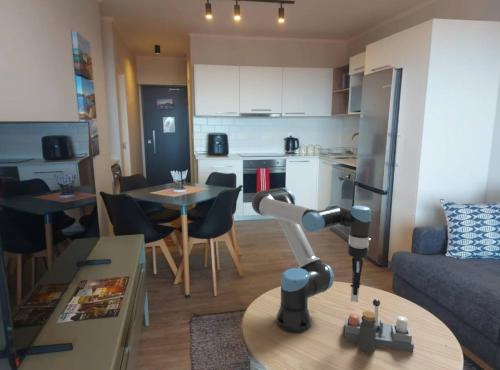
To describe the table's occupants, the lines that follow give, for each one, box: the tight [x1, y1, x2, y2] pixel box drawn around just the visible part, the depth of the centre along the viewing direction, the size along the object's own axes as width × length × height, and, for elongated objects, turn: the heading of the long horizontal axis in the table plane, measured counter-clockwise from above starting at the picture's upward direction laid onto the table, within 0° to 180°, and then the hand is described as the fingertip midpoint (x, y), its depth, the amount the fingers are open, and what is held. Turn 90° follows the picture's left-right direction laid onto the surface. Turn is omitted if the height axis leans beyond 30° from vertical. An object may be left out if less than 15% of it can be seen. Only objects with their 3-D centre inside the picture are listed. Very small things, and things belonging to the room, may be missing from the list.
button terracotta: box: [348, 313, 360, 327], centre depth 136 cm, size 4×4×5 cm
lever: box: [372, 298, 381, 330], centre depth 138 cm, size 3×3×12 cm
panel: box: [344, 317, 415, 352], centre depth 136 cm, size 25×12×7 cm, turn 75°
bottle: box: [358, 310, 376, 355], centre depth 128 cm, size 6×6×15 cm
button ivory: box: [395, 315, 409, 334], centre depth 131 cm, size 4×4×5 cm
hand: (354, 300), depth 135 cm, fingers closed
